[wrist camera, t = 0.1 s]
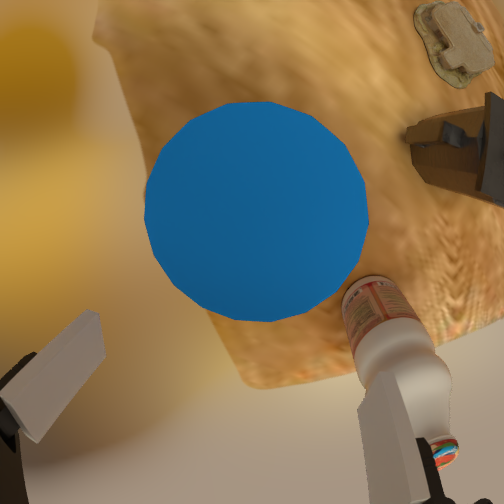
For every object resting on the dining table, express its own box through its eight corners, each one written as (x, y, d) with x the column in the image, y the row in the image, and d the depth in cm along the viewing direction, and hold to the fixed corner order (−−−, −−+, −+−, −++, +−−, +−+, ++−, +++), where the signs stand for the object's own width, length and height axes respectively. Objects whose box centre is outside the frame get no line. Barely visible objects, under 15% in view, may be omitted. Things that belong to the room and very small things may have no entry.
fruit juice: (397, 267, 38) (499, 412, 11) (399, 320, 40) (466, 467, 14) (336, 281, 39) (380, 458, 13) (344, 334, 42) (374, 499, 16)
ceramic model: (489, 77, 25) (526, 67, 16) (447, 95, 28) (485, 84, 19) (442, 3, 22) (469, -21, 13) (394, 14, 25) (418, -16, 16)
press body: (400, 102, 30) (468, 74, 14) (471, 131, 29) (549, 131, 13) (390, 171, 33) (457, 187, 18) (461, 195, 33) (538, 224, 17)
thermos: (335, 174, 35) (416, 212, 11) (282, 234, 38) (266, 358, 15) (270, 120, 34) (231, 53, 10) (219, 182, 37) (107, 232, 14)
